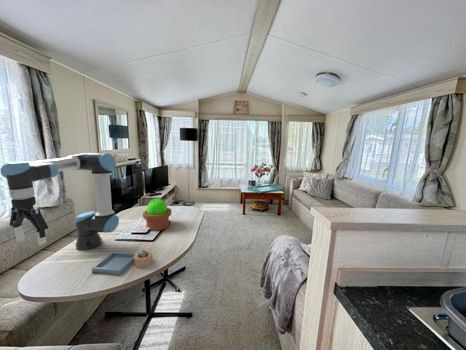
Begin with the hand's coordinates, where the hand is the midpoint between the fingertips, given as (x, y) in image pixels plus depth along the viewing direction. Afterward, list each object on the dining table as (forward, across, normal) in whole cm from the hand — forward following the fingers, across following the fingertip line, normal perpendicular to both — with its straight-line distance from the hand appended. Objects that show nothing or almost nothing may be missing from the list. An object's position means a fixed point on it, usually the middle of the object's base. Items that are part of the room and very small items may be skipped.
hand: (31, 242), depth 95 cm
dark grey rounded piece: (+28, +31, +35) cm, 54 cm away
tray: (+28, +16, +29) cm, 43 cm away
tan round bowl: (+27, +31, +35) cm, 54 cm away
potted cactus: (+28, +7, +83) cm, 88 cm away
